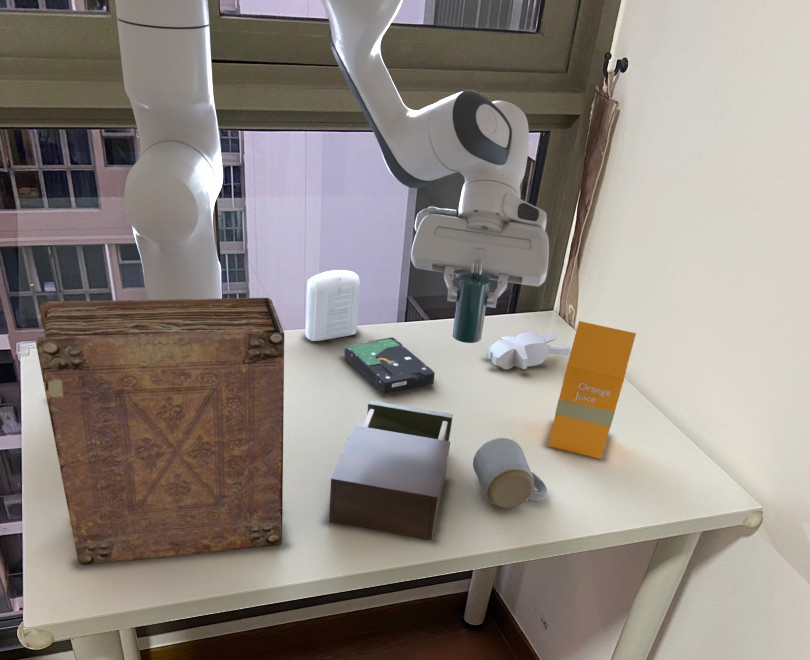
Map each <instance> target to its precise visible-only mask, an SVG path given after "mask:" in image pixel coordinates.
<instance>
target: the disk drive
mask: <svg viewBox="0 0 810 660" xmlns="http://www.w3.org/2000/svg"><path fill="white" fill-rule="evenodd" d="M344 359H346V361H347V362H348V363H349V364H351V366H353V367H354V368H355V369H356V370H357V371H358V372H359V373H360V374H361V375H362V376H363V377H364V378H366V380H368V382H370V383H371V384H372V385H373V386H374V387H375V388H376V389H377V390H378V391H379V392H381V393H382V394H383V395H389V394H395V393H400V392H404V391H410V390H414V389H419V388H424V387H425V388H426V387H429V386H433V385H434V381H435V375H436V372H435V371H434V370H433V369H432V368H431V367H429V366H428V365H427V364H425V362H423V361H422V360H421V359H419V357H418V356H416V355H415V354H413V352H412V351H410V350H409V349H408V348H407V347H405V346H404V345H403V344H402V343H401V342H399V341H398V340H397V339H396V338H394V337H386V338H381V339H376V340H369V341H368V342H363V343H359V344H358V343H357V344H352V345H351V344H348V345H347V346H346V348H344Z"/></svg>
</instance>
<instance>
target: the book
mask: <svg viewBox="0 0 810 660" xmlns="http://www.w3.org/2000/svg"><path fill="white" fill-rule="evenodd" d="M39 308H40V314H41V321H42V326H43V331H44V336H40V337H37V339H36V341H35V346H36V351H37V356H38V361H39V365H40V366H39V367H40V372H41V377H42V382H43V387H44V392H45V397H46V403H47V407H48V408H47V409H48V414H49V418H50V424H51V428H52V434H53V439H54V444H55V450H56V453H57V461H58V465H59V469H60V470H59V471H60V475H61V480H62V485H63V490H64V497H65V502H66V505H67V511H68V517H69V521H70V528H71V532H72V538H73V543H74V547H75V552H76V553H75V554H76V558H77V563H78V564H79V565H80V566H88V565H89V566H90V565H98V564H109V563H116V562H117V563H121V562H128V561H129V562H130V561H138V560H149V559H157V558H166V557H176V556H177V557H178V556H186V555H196V554H205V553H215V552H224V551H225V552H226V551H235V550H245V549H253V548H254V549H255V548H263V547H272V546H273V547H274V546H281V545H282V543H283V502H284V501H283V497H284V495H283V494H284V493H283V491H284V409H285V408H284V404H285V403H284V400H285V399H284V398H285V331H284V329H283V326H282V323H281V321H280V318H279V316H278V313H277V310H276V308H275V305H274V303H273V300H272V299H271V298H269V297H239V298H238V297H233V298H222V299H170V300H146V299H119V300H118V299H117V300H116V299H115V300H113V299H112V300H64V301H63V300H62V301H59V300H58V301H44V302H41V303H40V306H39Z"/></svg>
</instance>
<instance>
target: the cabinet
mask: <svg viewBox="0 0 810 660" xmlns="http://www.w3.org/2000/svg"><path fill="white" fill-rule="evenodd" d="M450 447H451V441H450V440H449V441H444V440H438V439H433V438H427V437H421V436H415V435H409V434H403V433H397V432H391V431H385V430H379V429H374V428H368V427H363V425H362V426H361V425H355V424H354V425H352V428H351V430H350V433H349V435H348V437H347V440H346V442H345V444H344V447H343V449H342V451H341V455H340V457H339V458H338V462H337V464H336V466H335V469H334V470H333V473H332V476H331V478H330V493H329V495H330V496H329V513H328V523H332V524H338V525H343V526H349V527H354V528H355V527H356V528H361V529H366V530H372V531H377V532H383V533H389V534H395V535H399V536H405V537H410V538H417V539H421V540H422V539H423V540H427V541H432V539H433V535H434V530H435V526H436V522H437V517H438V511H439V508H440V504H441V498H442V495H443V490H444V485H445V482H446V481H445V480H446V474H447V467H448V460H449V456H450V455H449V454H450Z"/></svg>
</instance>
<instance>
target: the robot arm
mask: <svg viewBox="0 0 810 660" xmlns="http://www.w3.org/2000/svg"><path fill="white" fill-rule="evenodd" d="M320 1H321V3H322V5H323V8H324V10H325V12H326V15H327V18H328V22H329V26H328V30H327V32H328V34H327V36H328V42H329V45H330V48H331V52H332V53H333V56H334V58H335V61H336V63H337V65H338V67H339V69H340V71H341V72H342V75H343V77H344V79H345V81H346V82H347V85H348V86H349V88H350V91H351V92H352V94H353V96H354V98H355V100H356V102H357V103H358V105H359V108H360V109H361V111H362V113H363V115H364V116H365V119H366V121H367V123H368V124H369V127H370V128H371V130H372V132H373V135H374V137H375V139H376V141H377V143H378V146H379V149H380V152H381V155H382V158H383V161H384V164H385V166H386V168H387V170H388V172H389V173H390V174H391V176H393V178H394V179H396V180H397V181H398V182H399V183H401V184H402V185H403V186H406V187H407V188H410V189H420V188H423V187H425V186H427V185H429V184H431V183H433V182H435V181H438V180H439V179H441V178H444V177H447V176H450V175H453V174H456V173H459V174H461V175H462V176H463V177H464V183H463V186H462V189H461V194H460V198H459V204H458V209H451V208H439V207H437V206H428V207H427V208H424V209H422V210H420V211H419V212H418V213H417V215H416V218H415V222H414V229H415V232H416V233H415V235H414V239H413V243H412V246H411V249H410V250H411V251H410V260H411V264H412V265H413V267H414V268H416V269H418V270H423V271H424V270H425V271H431V272H436V273H437V272H438V273H443V280H444V282H445V285H446V288H447V298H446V301H447V302H451V303H452V302H453V303H457V298H458V289H459V286H455V285H454V282H453V281H454V279H455V275H457V276H461V275H463V274H468V273H471V267H472V260H473V259H471V253H472V248H483V249H485V250H487V253H486V259H485V261H483V266H482V273H481V275H483V276H486V277H488V278H489V279H490V281H497V287H496V289H494V291H489V292H488V298H487V302H486V308H491V309H496V307H497V302H498V298H500V297H501V295H502V294H503V293H504V292H505V291H506V290H507V288H508V283H510V284H515V285H516V284H518V285H524V286H529V287H537V288H538V287H540V286H541V285H543V284H544V283H545V281H546V280H547V279H546V278H547V276H548V275H547V273H548V269H549V260H550V259H549V258H550V240H549V236H548V233H547V232H546V229H547V221H548V217H547V216H548V215H547V212H546V211H545V210H544V209H542V208H540V207H537V206H535V205H533V204H531V203H529V202H527V201H525V200H524V199H521V184H522V181H523V180H524V177H525V175H526V169H527V165H528V164H527V163H528V156H529V148H530V147H529V146H530V131H529V130H530V128H529V122H528V118H527V115H526V114H525V113H524V111H523V110H522V109H521V108H520V107H518V106H517V105H516V104H514V103H512V102H509V101H505V100H494V101H491V100H490V99H489V98H488V97H487V96H485V95H484V94H483V93H480V92H479V91H476V90H474V89H466V90H463V91H460V92H457V93H455V94H452V95H450V96H447V97H445V98H442V99H439V100H438V101H437V102H434V103H433V104H429V105H427V106H424V107H423V108H421V109H419V110H415V109H411V108H409V107H408V106H406V105H405V103H404V102H403V99H402V98H401V96H400V93H399V92H398V89H397V87H396V86H395V84H394V83H395V82H394V81H393V79H392V77H391V75H390V73H389V70H388V69H387V66H386V65H385V63H384V60H383V57H382V53H381V42H382V39H383V36H384V35H385V34H386V31H387V30H388V29H389V27H390V25H391V24H392V22H393V20H394V19H395V18H396V17H397V15H398V12H399V10H400V9H401V6H402V3H403V1H404V0H320ZM114 2H115V12H116V21H117V22H116V23H117V24H116V25H117V32H118V41H119V49H120V50H119V52H120V60H121V71H122V78H123V87H124V92H125V94H126V96H127V97H128V100H129V102H130V106H131V108H132V113H133V116H134V120H135V124H136V128H137V133H138V139H139V156H138V159H137V160H136V162H135V163H134V164H133V165H132V167H131V168H130V170H129V171H128V173H127V176H126V179H125V184H124V193H123V206H124V213H125V215H126V219H127V221H128V222H129V224H130V225H131V228H132V232H133V236H134V240H135V243H136V246H137V250H138V253H139V258H140V261H141V266H142V273H143V281H144V291H145V300H170V299H223V289H222V267H221V263H220V261H219V257H218V256H219V255H218V252H217V246H216V239H215V231H214V221H213V218H214V217H213V215H214V208H215V203H216V201H217V198H218V197H219V193H220V192H221V189H222V187H223V182H224V171H223V160H222V159H223V158H222V150H221V149H222V148H221V141H220V133H219V125H218V118H217V112H216V105H215V99H214V88H213V68H212V67H213V66H212V51H211V50H212V48H211V29H210V28H211V27H210V14H209V11H210V10H209V0H114ZM479 265H480V260H479ZM475 267H476V260H475ZM478 272H479V267H478ZM474 273H475V268H474Z"/></svg>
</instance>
